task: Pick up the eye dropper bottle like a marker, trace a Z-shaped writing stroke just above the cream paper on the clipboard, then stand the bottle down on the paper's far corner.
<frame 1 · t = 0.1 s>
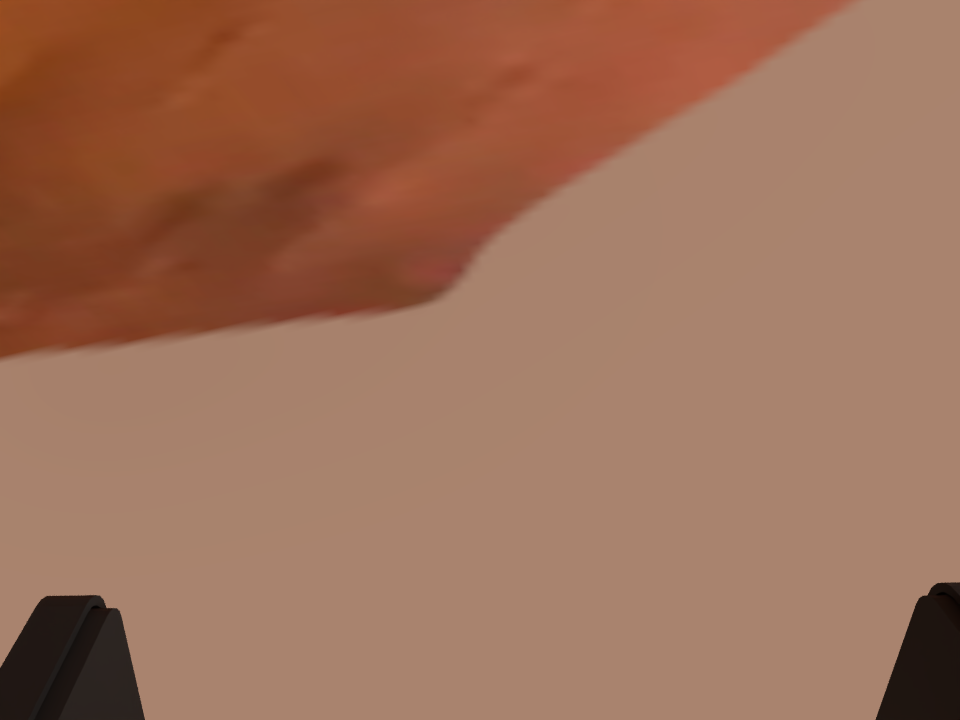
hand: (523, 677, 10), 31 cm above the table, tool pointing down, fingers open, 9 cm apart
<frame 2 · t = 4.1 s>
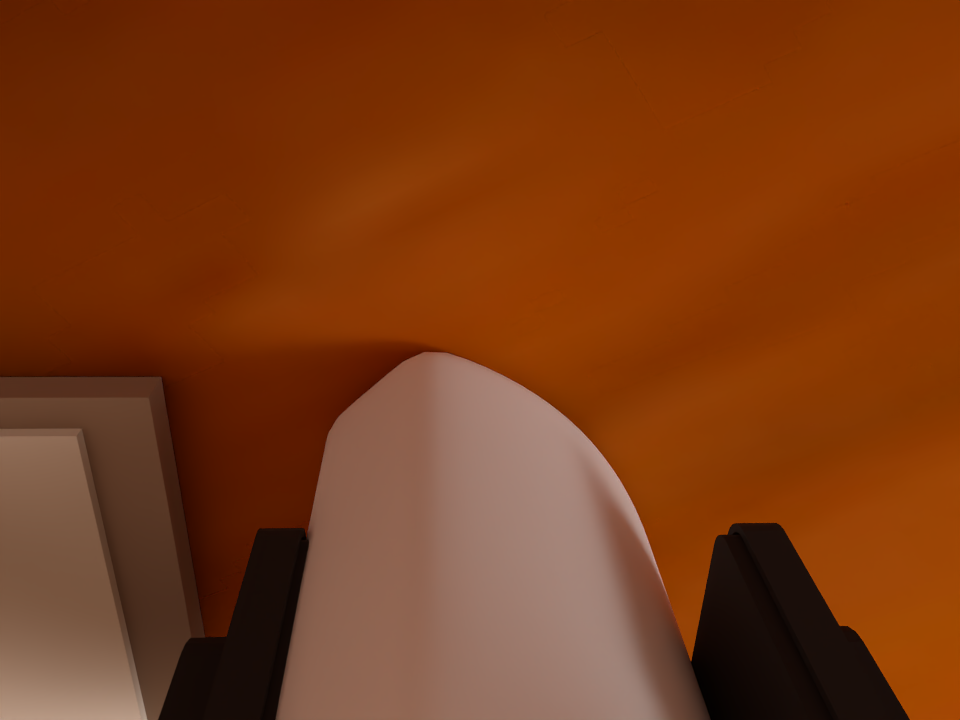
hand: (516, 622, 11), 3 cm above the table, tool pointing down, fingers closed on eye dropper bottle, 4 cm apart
eye dropper bottle: (495, 478, 14), on the table, touching gripper
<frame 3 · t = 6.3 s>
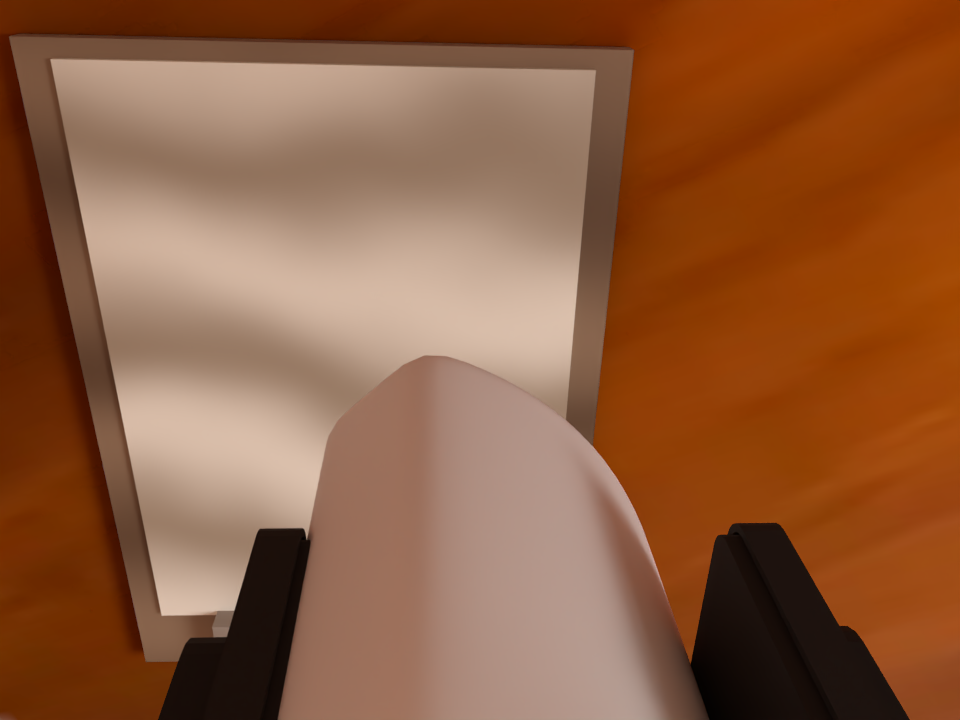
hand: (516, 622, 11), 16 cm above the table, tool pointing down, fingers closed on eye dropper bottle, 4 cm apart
clipboard: (349, 400, 27), on the table
eye dropper bottle: (495, 481, 14), point 13 cm above the table, touching gripper
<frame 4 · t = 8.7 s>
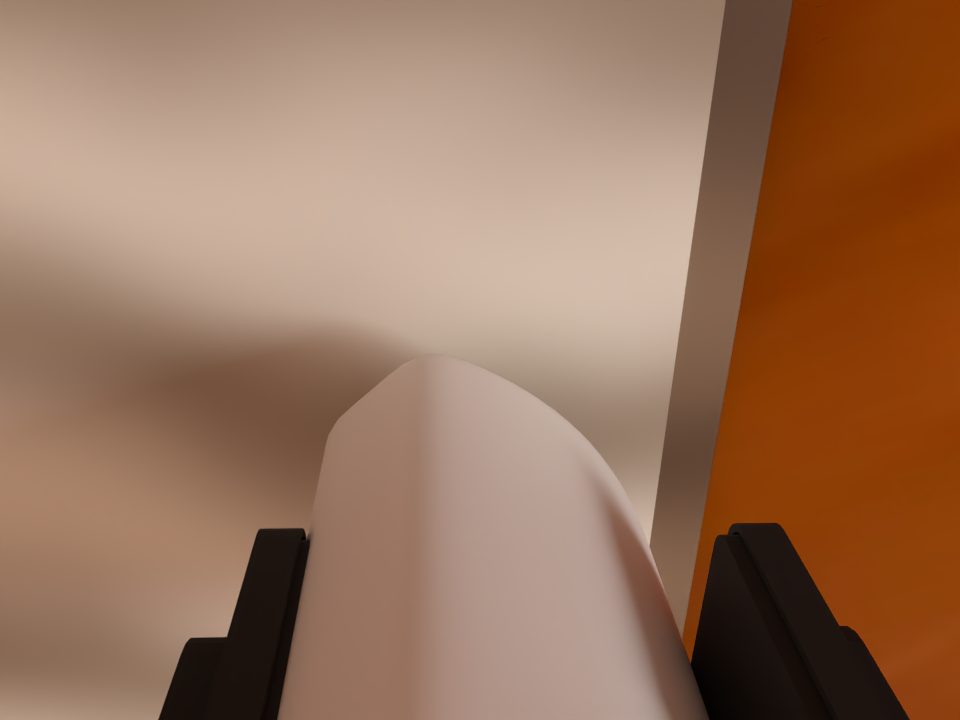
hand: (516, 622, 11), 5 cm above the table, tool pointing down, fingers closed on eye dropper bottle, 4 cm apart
clipboard: (261, 415, 15), on the table
eye dropper bottle: (494, 480, 14), point 2 cm above the table, touching gripper
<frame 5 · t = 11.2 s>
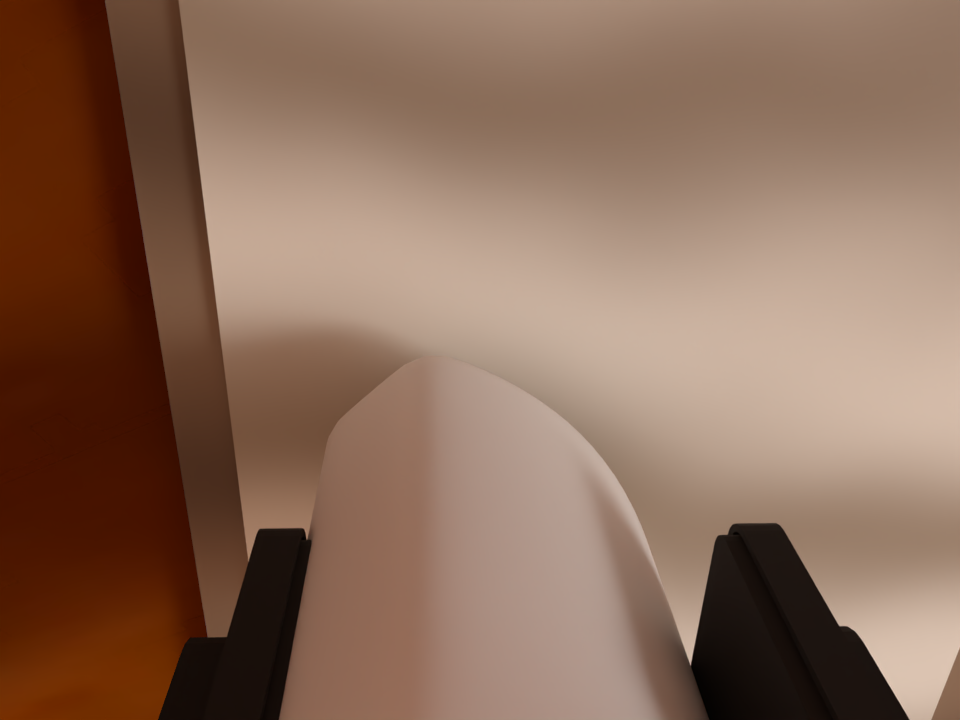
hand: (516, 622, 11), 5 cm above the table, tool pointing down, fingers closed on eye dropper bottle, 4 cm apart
clipboard: (626, 512, 16), on the table
eye dropper bottle: (495, 481, 14), point 2 cm above the table, touching gripper
when the fingers open (4 cm above the table, at t = 13.4 s): eye dropper bottle stays where it is, resting on clipboard.
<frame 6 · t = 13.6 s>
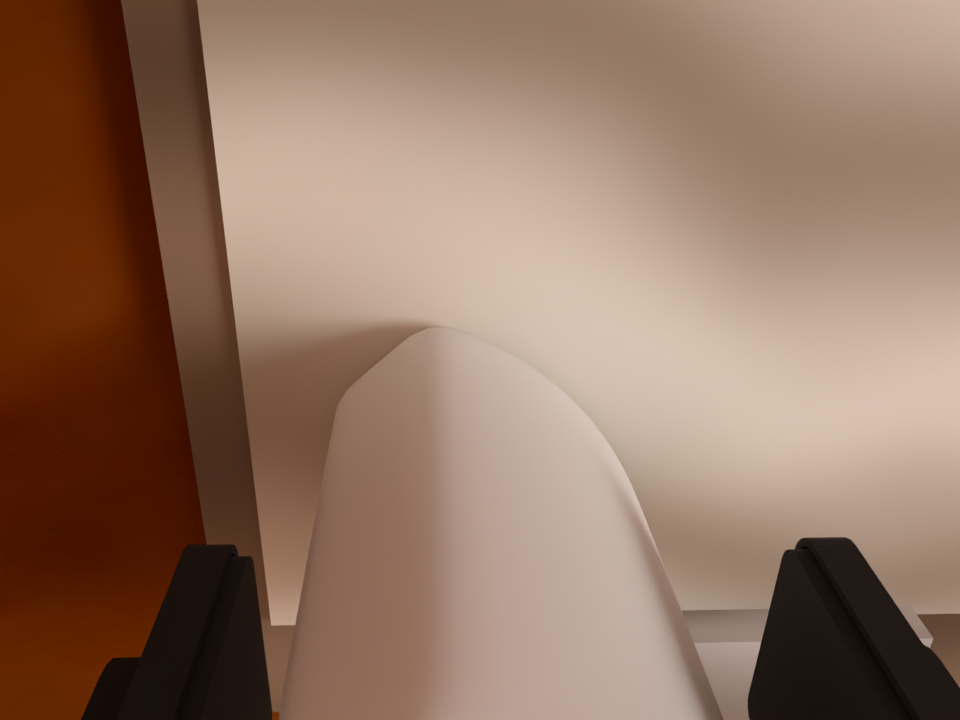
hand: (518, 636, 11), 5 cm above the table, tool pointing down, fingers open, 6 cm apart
clipboard: (704, 154, 13), on the table
eye dropper bottle: (496, 455, 14), point 1 cm above the table, touching clipboard
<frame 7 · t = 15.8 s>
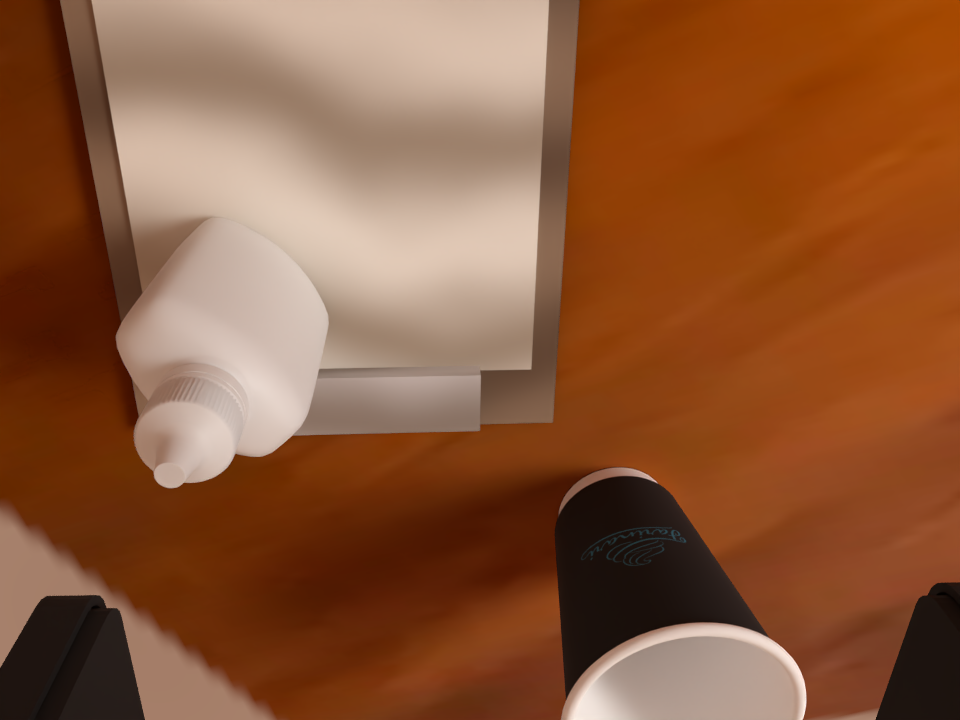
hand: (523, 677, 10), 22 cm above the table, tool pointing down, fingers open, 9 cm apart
dixie cup: (611, 510, 37), on the table
clipboard: (335, 140, 29), on the table
eye dropper bottle: (257, 282, 30), point 1 cm above the table, touching clipboard
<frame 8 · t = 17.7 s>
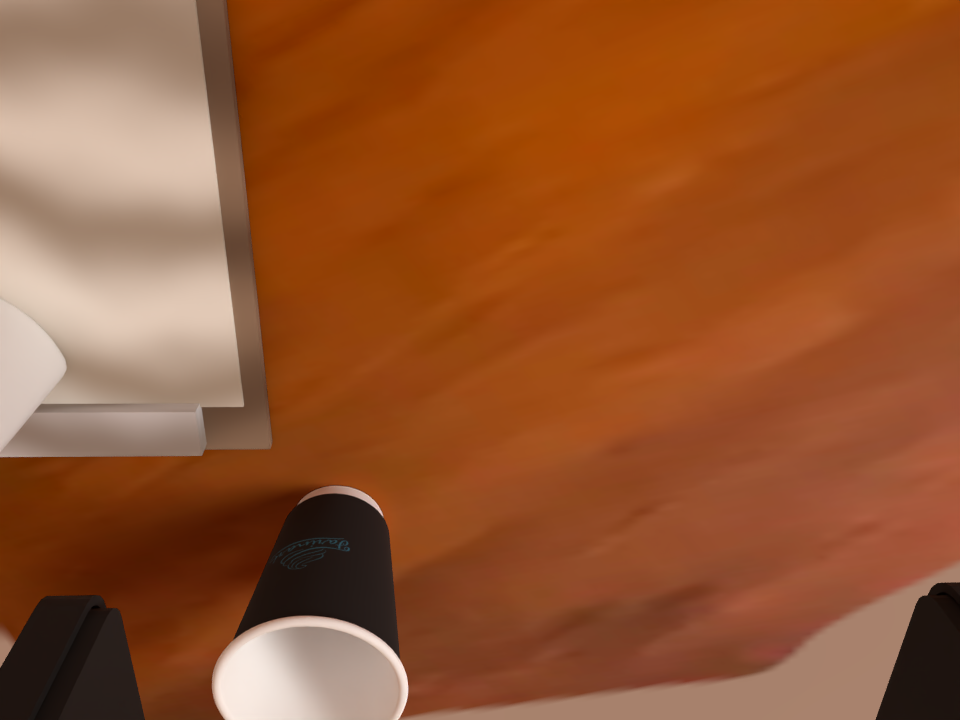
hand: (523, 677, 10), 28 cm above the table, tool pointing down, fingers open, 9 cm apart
dixie cup: (338, 520, 44), on the table
clipboard: (60, 226, 36), on the table
eye dropper bottle: (8, 335, 38), point 1 cm above the table, touching clipboard
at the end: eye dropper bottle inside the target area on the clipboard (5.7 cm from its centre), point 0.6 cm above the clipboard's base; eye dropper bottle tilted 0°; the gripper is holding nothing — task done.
